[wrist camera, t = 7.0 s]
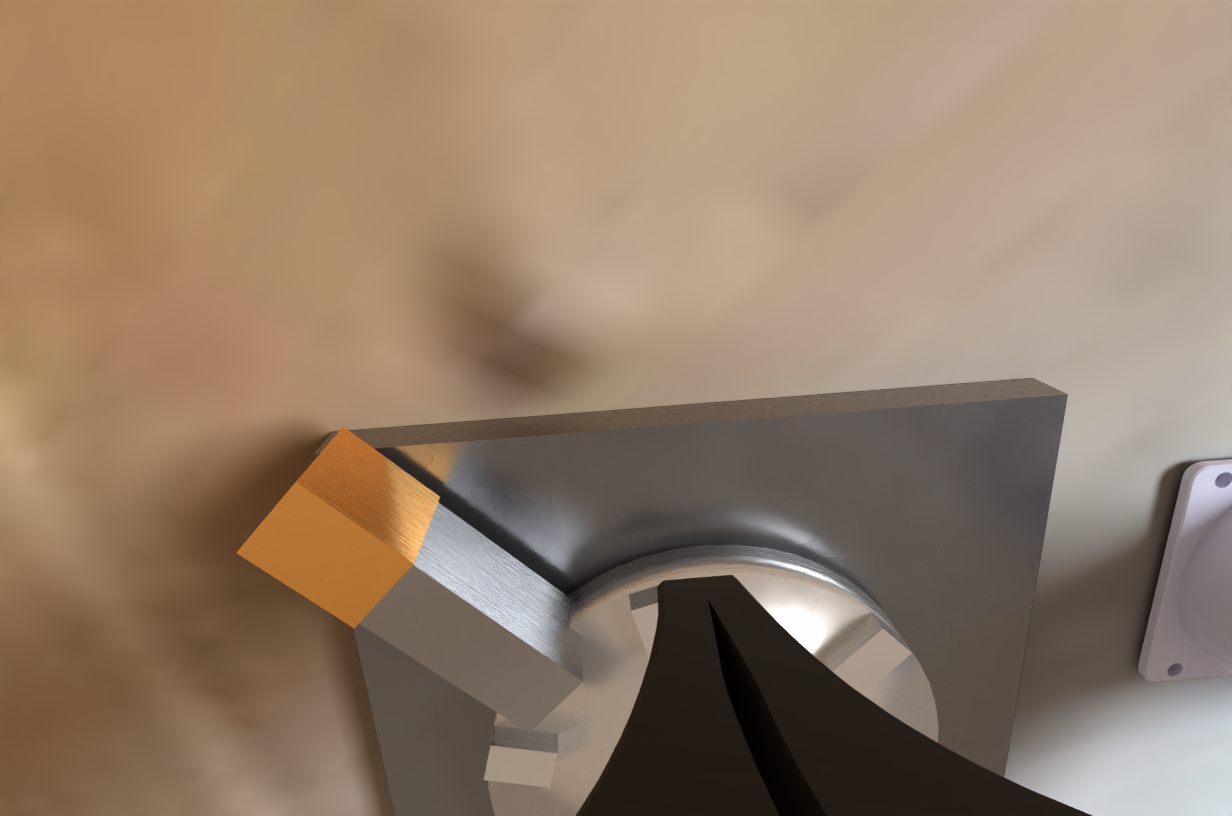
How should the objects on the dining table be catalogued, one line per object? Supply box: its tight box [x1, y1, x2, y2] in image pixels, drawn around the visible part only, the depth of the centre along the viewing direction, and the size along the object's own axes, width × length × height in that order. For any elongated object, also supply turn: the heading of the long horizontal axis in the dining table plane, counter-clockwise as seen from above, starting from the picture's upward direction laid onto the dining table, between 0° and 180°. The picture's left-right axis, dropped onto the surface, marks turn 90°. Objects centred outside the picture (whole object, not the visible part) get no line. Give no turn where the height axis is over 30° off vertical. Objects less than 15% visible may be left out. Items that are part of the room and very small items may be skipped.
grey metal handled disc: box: [237, 427, 939, 816], centre depth 19 cm, size 13×20×3 cm, turn 48°
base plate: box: [314, 378, 1068, 816], centre depth 22 cm, size 20×20×2 cm
